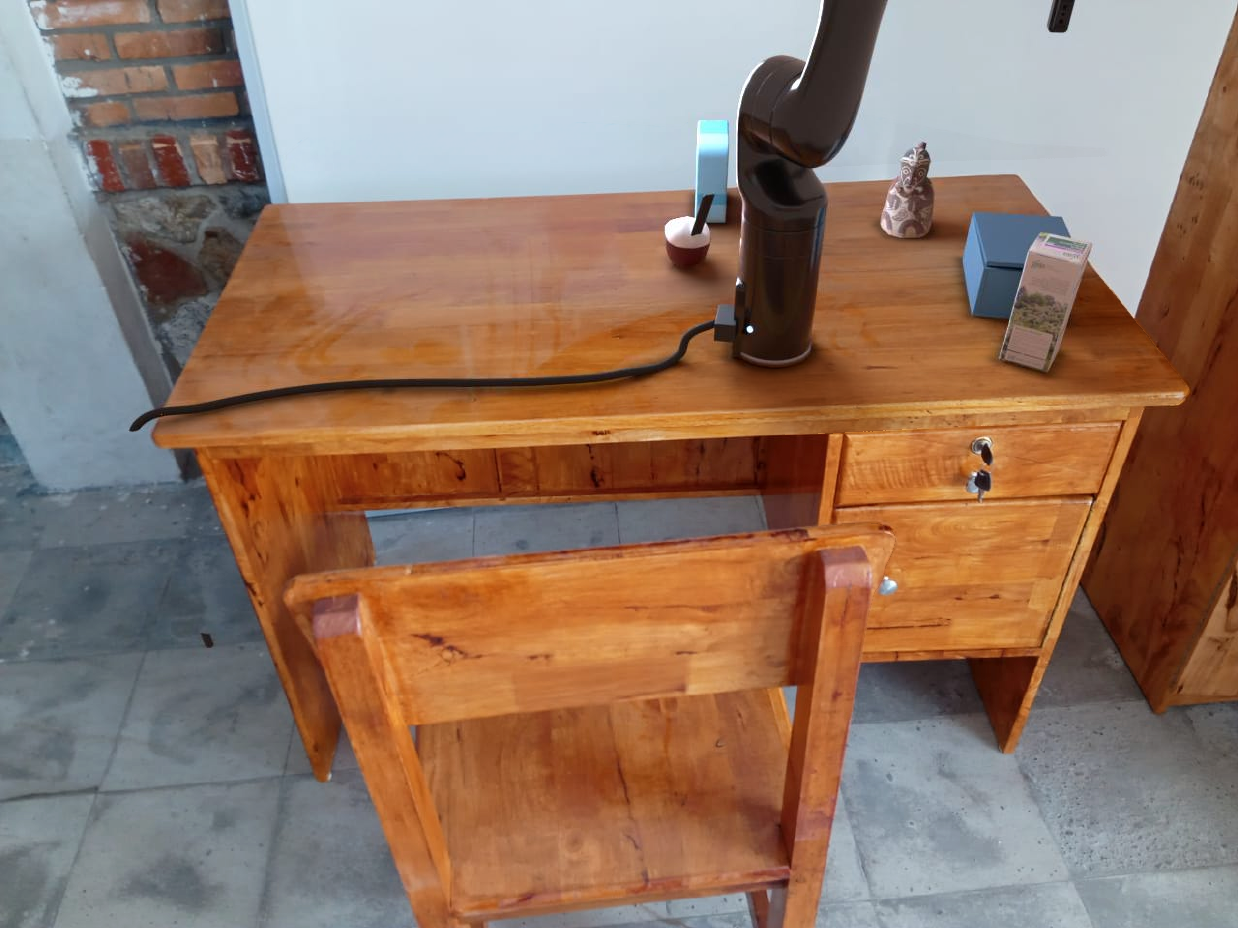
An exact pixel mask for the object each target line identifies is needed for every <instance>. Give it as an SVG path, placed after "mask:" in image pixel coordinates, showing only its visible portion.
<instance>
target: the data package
mask: <svg viewBox="0 0 1238 928" xmlns="http://www.w3.org/2000/svg"><path fill="white" fill-rule="evenodd" d="M729 125H730V124H729V120H698V122H697V140H696V141H697V142H696V143H697V145H696V171H695V172H696V173H695V207H694V219H696V217H697V214H698V211H699V208H700V205H701V202H702V199H703V196H704V195H708V194H715V196H714V199H713V202H712V205H711V208H710V211H709V213H708V216H707V219H706V222H705V223H706V224H708V223H709V224H725V223H726V215H727V201H728V177H729V159H730V158H729V157H730V129H729V127H730V126H729Z"/></svg>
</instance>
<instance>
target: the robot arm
mask: <svg viewBox="0 0 1238 928" xmlns="http://www.w3.org/2000/svg"><path fill="white" fill-rule="evenodd" d="M888 3H889V0H820V7H819V16H818V21H817V25H816V30H815V34H814V38H813V41H812V45H811V47H810V51H809V55H808V57H807V60H806V61H805V60H803V59H799V58H798V57H795V56H791V55H785V54H779V55H774V56H769V57H768V58H766V59H763V60H762V61H761V62H760V63H758V64H757V65H756V66H755V67H754V69H752V71H751V73H750V74H749V75H748V77H747V79H746V81H745V83H744V85H743V87H742V91H741V93H740V98H739V102H738V109H737V117H736V118H737V119H736V164H735V165H736V168H735V170H736V171H735V173H736V175H735V176H736V185H737V189H738V192H739V196H740V199H741V204H742V205H741V221H740V222H741V223H740V235H739V236H740V238H739V252H738V269H737V278H736V282H735V290H734V304H725V303H724V304H723V303H722V304H721V303H719V304H718V307H717V312H716V316H715V318H713V319H711V320H707V321H704V322H702V323H699V324H697V325H695V326H693V327H691V328H689V329H688V330H687V331H686V332H685V333H684V334H683V335H682V337H681V339H680V342H679V346H678V349H677V350H676V351H675V352H674V353H673V354H672V355H671V356H669V357H667V358H666V359H664V360H662V361H660V362H657V363H653V364H648V365H641V366H634V367H627V368H621V369H615V370H610V371H604V372H597V373H587V374H572V375H570V374H569V375H554V376H539V377H537V376H536V377H535V376H534V377H497V378H496V377H495V378H491V377H490V378H484V377H483V378H383V379H382V378H381V379H379V378H378V379H359V380H358V379H357V380H344V381H329V382H320V383H310V384H303V385H295V386H294V385H293V386H287V387H286V386H285V387H280V388H274V389H267V390H261V391H255V392H249V393H245V394H240V395H239V394H238V395H234V396H230V397H225V398H219V399H215V400H211V401H206V402H202V403H201V402H200V403H196V404H187V405H174V406H164V407H159V408H154V409H151V410H148V411H146V412H144V413H142V414H141V415H140V416H138V417H137V418H136V419H135V420H134V421H133V422H132V423H131V425H130V427H129V429H128V431H129V432H130V433H134V432H138V431H139V430H141V429H142V428H143V427H144V426H145V425H146V424H148V423H149V422H150V421H153V420H156V419H158V418H162V417H169V416H183V415H192V414H200V413H205V412H209V411H214V410H219V409H223V408H229V407H233V406H237V405H243V404H247V403H254V402H258V401H264V400H271V399H276V398H284V397H290V396H291V397H292V396H297V395H298V396H299V395H305V394H314V393H323V392H334V391H335V392H336V391H347V390H361V389H362V390H363V389H388V388H389V389H390V388H391V389H392V388H492V387H493V388H504V387H507V388H508V387H511V388H512V387H515V388H516V387H541V386H542V387H544V386H559V385H560V386H561V385H576V384H589V383H599V382H606V381H611V380H617V379H622V378H627V377H628V378H629V377H636V376H643V375H648V374H652V373H655V372H659V371H661V370H664V369H666V368H669V367H671V366H673V365H675V364H676V363H678V362H679V361H680V360H681V359H683V357H684V356H685V355H686V353H687V352H688V351H687V350H688V347H689V343H690V341H691V340H692V339H693V338H695V337H696V336H697V335H699V334H702V333H704V332H708V331H710V330H713V341H714V342H722V343H731V353H730V354H731V355H730V356H731V357H732V358H738V359H742V360H743V361H745V362H746V363H749V364H752V365H755V366H759V367H765V368H786V367H787V368H788V367H792V366H795V365H797V364H799V363H801V362H803V361H805V360H806V359H807V358H808V357H809V355H810V354H811V351H812V350H811V349H812V344H813V343H812V338H813V328H814V322H815V321H814V320H815V312H816V304H817V297H818V296H817V295H818V287H819V279H820V270H821V264H822V256H823V255H822V254H823V246H824V237H825V230H826V222H827V214H828V208H829V207H828V206H829V196H828V192H827V191H828V190H827V189H826V187H825V185H824V184H823V182H822V181H821V180H820V179H819V176H818V175H817V174H816V172H815V171H814V169H818V168H820V167H823V166H825V165H827V164H829V162H831V161H832V160H834V159H835V157H836V156H837V155H838V154H839V153H840V152H841V150H842V149H843V147H844V146H845V144H846V142H847V140H848V139H849V137H850V134H851V132H852V130H853V128H854V125H855V122H856V120H857V116H858V114H859V110H860V106H861V104H862V99H863V95H864V91H865V88H866V83H867V79H868V76H869V72H870V68H871V64H872V59H873V55H874V51H875V47H876V44H877V40H878V36H879V32H880V29H881V25H882V21H883V18H884V15H885V12H886V8H887V5H888ZM1075 3H1076V0H1052V2H1051V6H1050V10H1049V15H1048V19H1047V24H1046V28H1047V30H1048V32H1049V33H1052V34H1053V33H1056V34H1057V33H1058V34H1064V33H1066V32H1068V30H1069V25H1070V21H1071V17H1072V14H1073V10H1074V7H1075ZM161 414H162V415H161ZM200 636H201V638H202V641H203V642H204V645H205V647H206V648H207V649H210V648H213V647H214V641H213V638H212V636H211V634H209V633H204V632H200Z"/></svg>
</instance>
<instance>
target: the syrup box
mask: <svg viewBox="0 0 1238 928" xmlns="http://www.w3.org/2000/svg"><path fill="white" fill-rule="evenodd" d="M1092 248H1093V242H1092V241H1086V240H1081V239H1077V238H1073V237H1071V238H1069V237H1064V236H1059V235H1055V234H1050V233H1045V232H1040V234H1039V235H1038V237H1037V238H1036V239H1035V241H1034V243H1033V244H1032V246H1031V248H1030V249H1029V252H1028V254H1027V258H1026V262H1025V265H1024V269H1023V273H1022V277H1021V280H1020V284H1019V288H1018V291H1017V295H1016V298H1015V302H1014V306H1013V309H1012V313H1011V317H1010V319H1008V320H1009V321H1008V325H1007V328H1006V332H1005V335H1004V339H1003V343H1002V347H1001V350H1000V353H999V358H998V359H999V361H1002V362H1006V363H1010V364H1013V365H1017V366H1021V367H1024V368H1027V369H1031V370H1035V371H1039V372H1043V373H1045V374H1046V373H1048V372H1049V370H1050V369H1051V367H1052V364H1053V362H1054V361H1055V359H1056V357H1057V355H1058V353H1059V351H1060V348H1061V345H1062V341H1063V337H1064V334H1065V330H1066V328H1067V324H1068V321H1069V318H1070V315H1071V311H1072V309H1073V307H1074V303H1075V299H1076V297H1077V295H1078V294H1077V293H1078V291H1079V287H1080V286H1081V285H1080V284H1081V282H1082V278H1083V276H1084V273H1085V270H1086V266H1087V263H1088V261H1089V257H1090V254H1091V252H1092Z"/></svg>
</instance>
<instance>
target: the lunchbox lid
mask: <svg viewBox="0 0 1238 928" xmlns="http://www.w3.org/2000/svg"><path fill="white" fill-rule="evenodd" d="M972 216H973V218H974V222H975V226H976V230H977V234H978V237H979V241H980V245H981V249H982V253H983V256H984V260H985V264H986V265H988V266H1003V267H1017V268H1024V265H1025V262H1026V258H1027V254H1028V252H1029V249H1030V248H1031V246H1032V244H1033V243H1034V241H1035V239H1036V238H1037V237H1038V235H1039V234H1040V232H1045V233H1050V234H1055V235H1059V236H1064V237H1069V238H1072V236H1071V234H1070V232H1069V229H1068V227H1067V225H1066V223H1065V221H1064V219H1063V216H1058V215H1039V214H1025V213H1024V214H1023V213H1008V212H1006V213H1005V212H991V211H990V212H989V211H977V210H976V211H974V210H973V213H972Z"/></svg>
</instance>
